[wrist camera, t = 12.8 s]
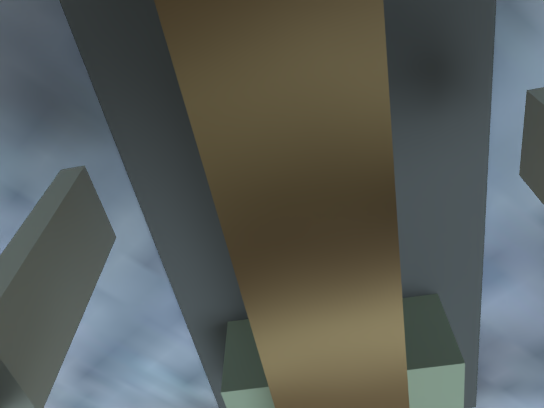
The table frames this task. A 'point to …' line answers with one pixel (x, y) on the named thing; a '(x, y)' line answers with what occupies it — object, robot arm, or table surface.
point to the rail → (302, 186)
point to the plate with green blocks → (407, 169)
